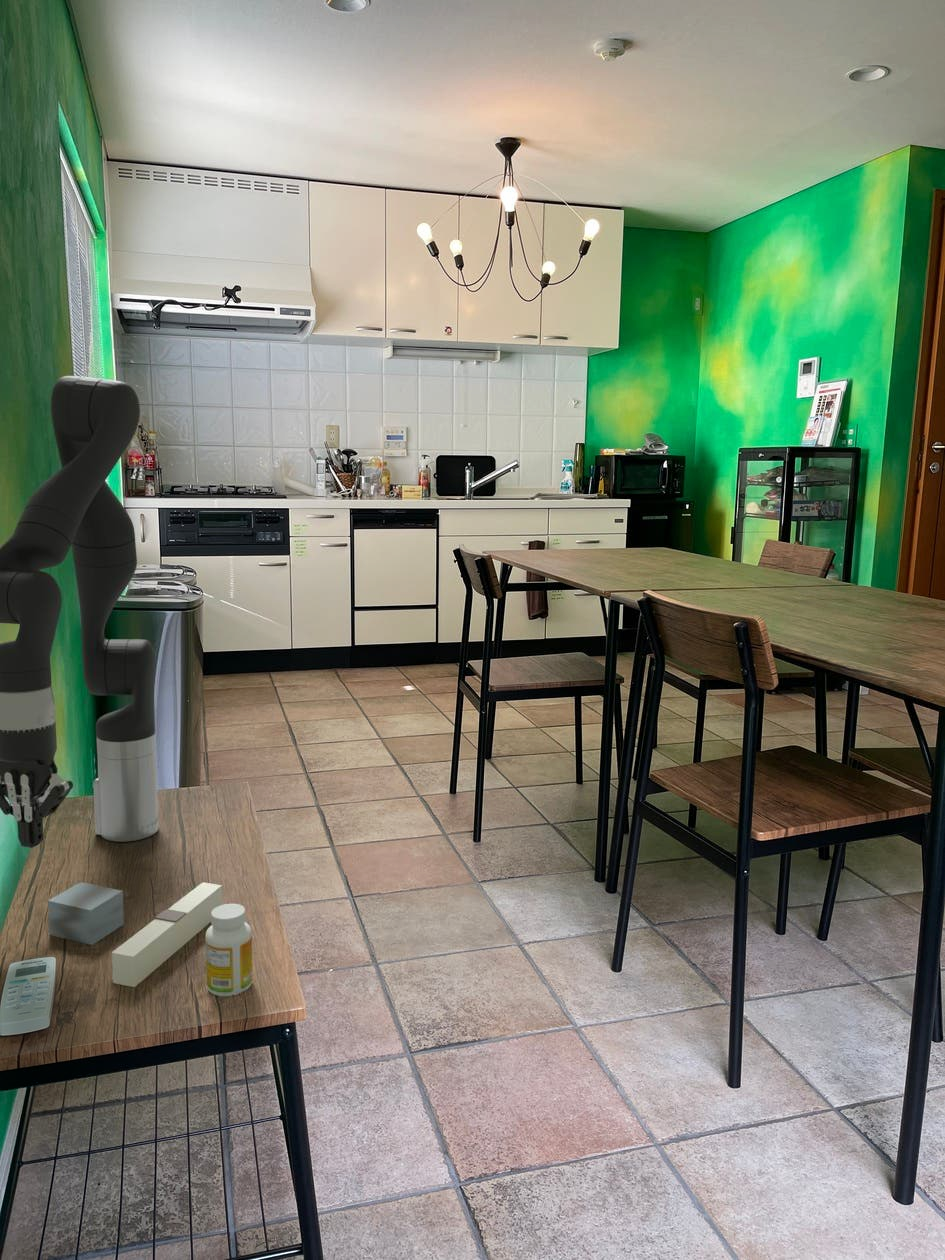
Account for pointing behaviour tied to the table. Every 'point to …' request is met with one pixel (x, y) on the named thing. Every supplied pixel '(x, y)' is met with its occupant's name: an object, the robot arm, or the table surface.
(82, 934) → the block
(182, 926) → the cream rectangular bar
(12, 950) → the table surface
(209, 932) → the supplement bottle
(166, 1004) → the table surface
